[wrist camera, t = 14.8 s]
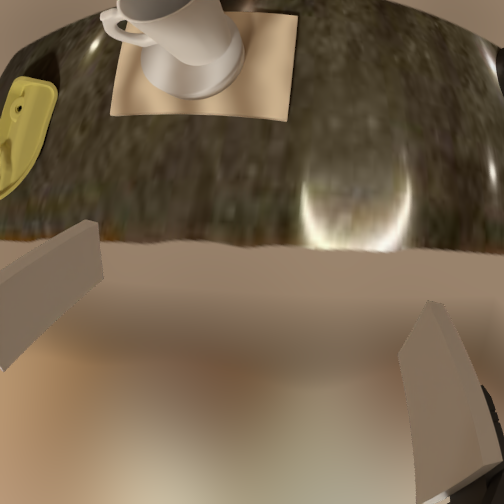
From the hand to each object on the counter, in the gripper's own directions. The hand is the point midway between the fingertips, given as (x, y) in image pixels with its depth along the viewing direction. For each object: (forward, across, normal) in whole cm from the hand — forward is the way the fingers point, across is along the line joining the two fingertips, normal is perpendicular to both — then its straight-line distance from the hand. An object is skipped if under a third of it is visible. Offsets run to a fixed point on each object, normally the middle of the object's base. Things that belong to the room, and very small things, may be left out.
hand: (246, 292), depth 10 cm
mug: (+20, -13, +13) cm, 27 cm away
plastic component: (+21, -44, +2) cm, 49 cm away
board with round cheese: (+25, -14, +12) cm, 31 cm away
